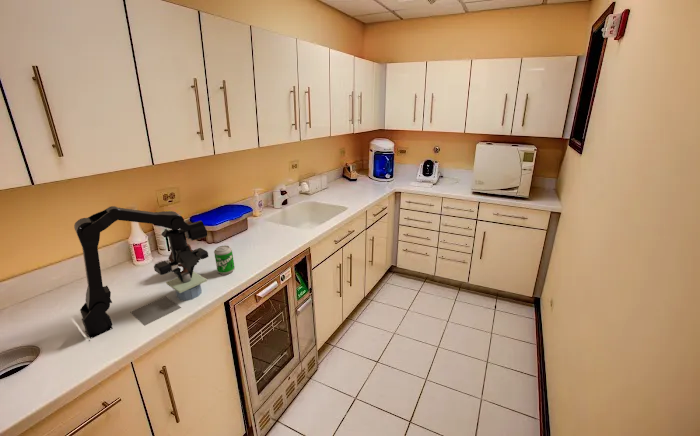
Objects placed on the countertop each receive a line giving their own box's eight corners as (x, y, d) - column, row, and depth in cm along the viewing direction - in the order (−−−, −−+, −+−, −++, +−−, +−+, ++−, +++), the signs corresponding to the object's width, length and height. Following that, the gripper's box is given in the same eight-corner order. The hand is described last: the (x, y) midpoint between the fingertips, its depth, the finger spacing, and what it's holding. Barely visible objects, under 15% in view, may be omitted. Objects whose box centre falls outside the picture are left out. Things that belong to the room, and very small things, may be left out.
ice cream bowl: (191, 265, 156) (185, 236, 151) (203, 272, 149) (197, 242, 144) (168, 274, 148) (161, 244, 143) (180, 282, 141) (173, 251, 136)
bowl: (184, 304, 126) (181, 293, 124) (173, 296, 131) (170, 285, 129) (206, 293, 132) (204, 283, 131) (194, 286, 138) (192, 276, 136)
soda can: (218, 269, 152) (214, 246, 148) (235, 266, 154) (231, 243, 150) (217, 276, 145) (213, 252, 141) (234, 274, 147) (231, 250, 143)
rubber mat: (144, 327, 114) (144, 325, 113) (130, 313, 121) (129, 311, 121) (181, 308, 123) (181, 307, 123) (166, 297, 131) (165, 295, 130)
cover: (179, 293, 122) (177, 284, 121) (166, 283, 129) (164, 275, 127) (207, 280, 130) (205, 272, 129) (193, 272, 137) (191, 264, 135)
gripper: (162, 258, 112) (172, 297, 118) (212, 241, 126) (218, 276, 131) (149, 250, 119) (158, 287, 124) (197, 234, 132) (204, 268, 138)
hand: (186, 279), depth 129 cm, fingers closed on cover, 3 cm apart
